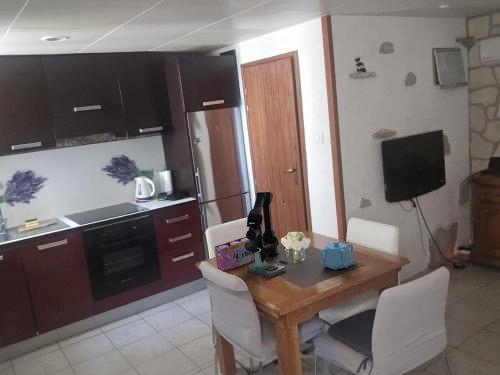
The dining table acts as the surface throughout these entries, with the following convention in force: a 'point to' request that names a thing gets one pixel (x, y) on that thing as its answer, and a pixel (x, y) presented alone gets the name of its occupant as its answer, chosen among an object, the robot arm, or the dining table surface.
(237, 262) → the gum box
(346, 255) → the decorative pot
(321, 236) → the dining table surface
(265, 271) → the panel
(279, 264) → the pair of grey bars
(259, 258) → the plug
